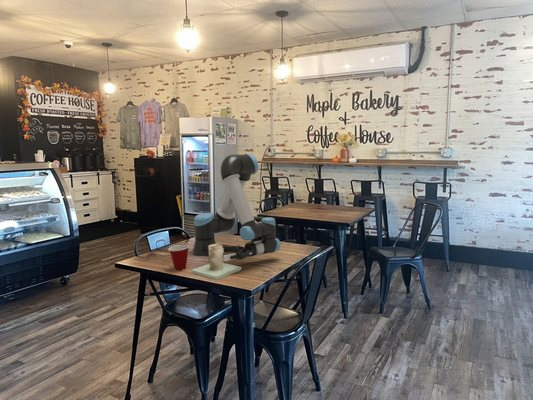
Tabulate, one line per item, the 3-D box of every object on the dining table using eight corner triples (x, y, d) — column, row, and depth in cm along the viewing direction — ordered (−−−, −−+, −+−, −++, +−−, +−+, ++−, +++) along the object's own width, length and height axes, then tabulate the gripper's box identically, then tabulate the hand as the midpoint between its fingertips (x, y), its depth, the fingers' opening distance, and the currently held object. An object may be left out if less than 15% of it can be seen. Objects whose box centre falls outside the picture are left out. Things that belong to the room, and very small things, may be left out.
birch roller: (206, 269, 203) (205, 246, 201) (216, 265, 208) (215, 243, 207) (216, 271, 199) (215, 248, 197) (226, 267, 204) (225, 245, 203)
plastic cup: (170, 266, 214) (169, 244, 212) (191, 265, 215) (190, 243, 213) (167, 272, 203) (166, 249, 202) (189, 271, 204) (188, 248, 202)
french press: (256, 245, 253) (255, 210, 250) (246, 243, 260) (245, 208, 257) (269, 242, 262) (269, 207, 258) (259, 240, 268) (259, 206, 265)
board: (191, 272, 202) (191, 270, 202) (216, 264, 216) (216, 261, 216) (216, 279, 191) (216, 276, 191) (241, 269, 205) (241, 267, 205)
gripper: (266, 261, 204) (229, 268, 193) (242, 250, 225) (208, 256, 214) (265, 246, 203) (228, 253, 192) (242, 237, 224) (207, 243, 213)
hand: (217, 255), depth 203 cm, fingers open, 13 cm apart
